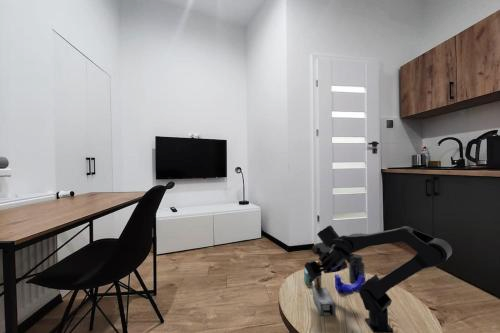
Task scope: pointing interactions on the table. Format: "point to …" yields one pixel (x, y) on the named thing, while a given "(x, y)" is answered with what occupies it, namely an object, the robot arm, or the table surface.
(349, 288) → the cable clip
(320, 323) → the table surface
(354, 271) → the supplement bottle
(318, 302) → the gray rectangular tube
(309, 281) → the teal block with slot
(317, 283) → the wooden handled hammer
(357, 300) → the table surface
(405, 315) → the table surface
